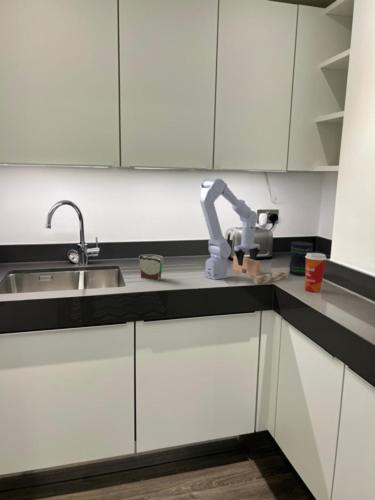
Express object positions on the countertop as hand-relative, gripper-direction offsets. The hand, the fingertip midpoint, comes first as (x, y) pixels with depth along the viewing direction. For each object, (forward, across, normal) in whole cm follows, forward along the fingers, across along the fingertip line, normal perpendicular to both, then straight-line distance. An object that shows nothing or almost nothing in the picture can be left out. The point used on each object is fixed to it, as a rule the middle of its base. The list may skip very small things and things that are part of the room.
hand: (246, 264), depth 178 cm
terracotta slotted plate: (+4, 0, 0) cm, 4 cm away
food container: (+4, -43, +13) cm, 45 cm away
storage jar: (+4, +22, -14) cm, 26 cm away
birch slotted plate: (+4, 0, -16) cm, 17 cm away
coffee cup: (+4, +4, -35) cm, 35 cm away
